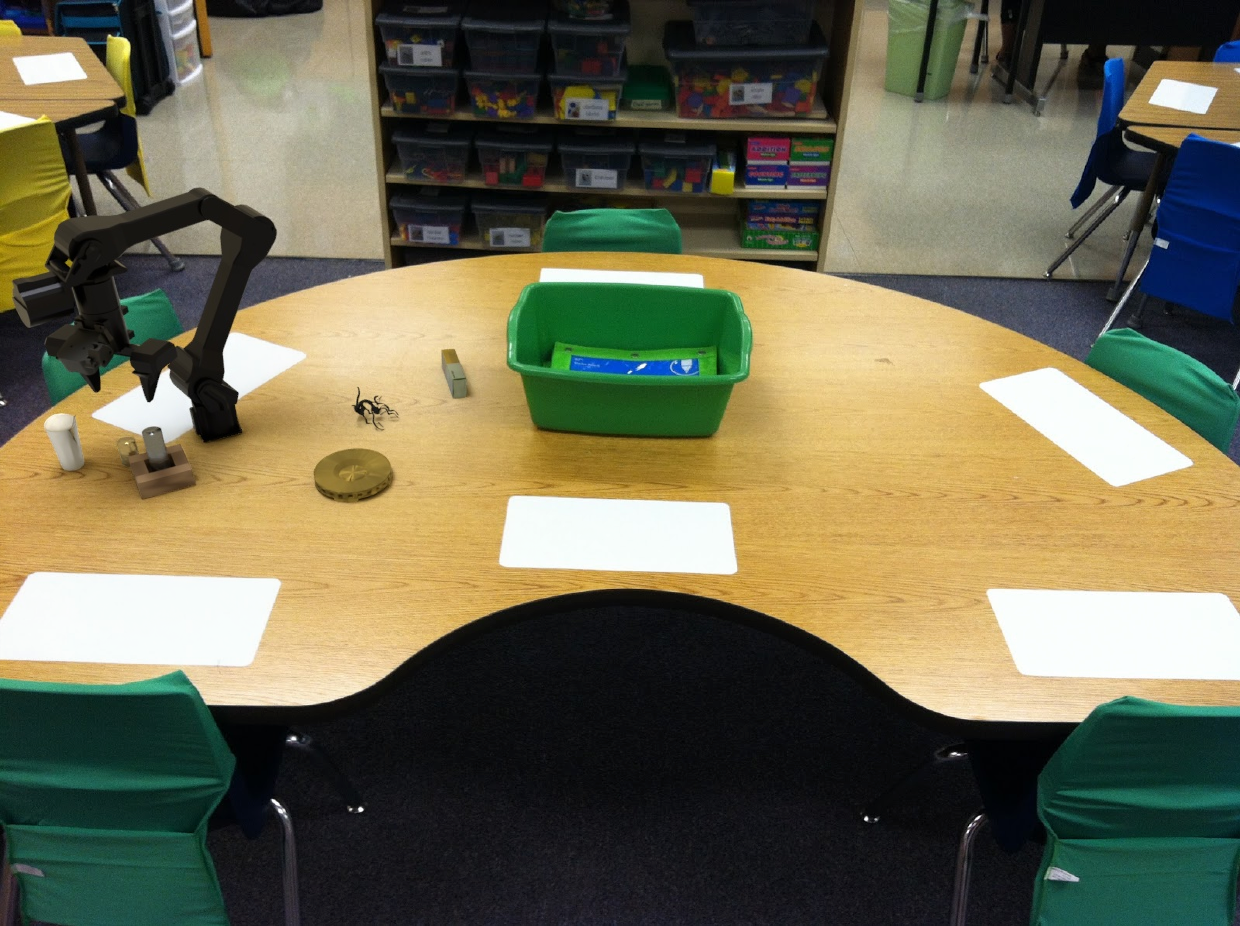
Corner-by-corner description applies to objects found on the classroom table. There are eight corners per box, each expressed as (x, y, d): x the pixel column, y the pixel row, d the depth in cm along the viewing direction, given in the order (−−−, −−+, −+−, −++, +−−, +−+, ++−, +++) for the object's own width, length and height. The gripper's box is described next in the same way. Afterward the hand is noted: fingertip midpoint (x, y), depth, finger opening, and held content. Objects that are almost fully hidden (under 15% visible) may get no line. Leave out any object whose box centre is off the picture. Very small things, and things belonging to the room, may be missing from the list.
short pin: (139, 455, 169) (133, 434, 167) (142, 464, 168) (137, 443, 165) (120, 459, 168) (114, 439, 166) (124, 468, 166) (118, 448, 164)
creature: (400, 412, 185) (354, 403, 184) (404, 387, 182) (358, 378, 181) (394, 437, 179) (347, 427, 177) (398, 411, 176) (351, 402, 174)
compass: (300, 480, 166) (298, 469, 165) (362, 450, 174) (361, 439, 172) (344, 513, 160) (343, 502, 159) (407, 481, 167) (406, 470, 166)
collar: (184, 458, 169) (180, 443, 167) (196, 484, 164) (192, 469, 162) (132, 472, 166) (127, 456, 164) (142, 499, 160) (137, 483, 158)
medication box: (467, 398, 188) (467, 379, 186) (452, 399, 188) (452, 380, 185) (455, 365, 198) (454, 347, 195) (440, 367, 197) (440, 348, 194)
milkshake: (82, 476, 164) (65, 423, 158) (51, 471, 165) (33, 418, 159) (99, 460, 168) (83, 407, 162) (69, 455, 169) (52, 402, 163)
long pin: (171, 471, 166) (159, 424, 161) (175, 480, 164) (163, 433, 159) (152, 476, 165) (139, 429, 160) (156, 485, 163) (143, 438, 158)
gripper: (4, 320, 148) (35, 413, 157) (121, 340, 144) (146, 434, 154) (57, 287, 157) (83, 377, 166) (168, 306, 153) (189, 396, 162)
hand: (124, 396), depth 162 cm, fingers open, 9 cm apart
